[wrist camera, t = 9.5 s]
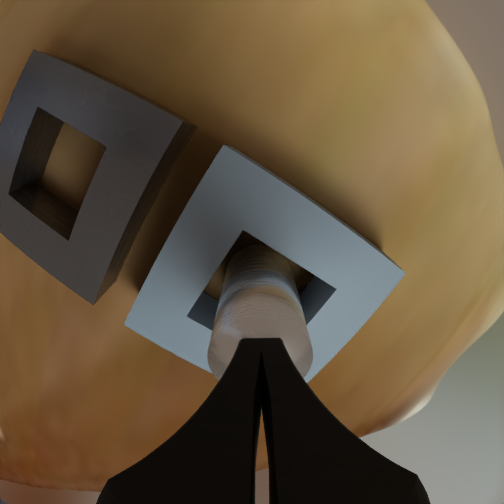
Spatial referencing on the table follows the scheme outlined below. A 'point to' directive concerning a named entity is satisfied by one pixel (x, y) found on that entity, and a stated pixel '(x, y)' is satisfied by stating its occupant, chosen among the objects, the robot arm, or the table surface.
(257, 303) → the aluminium peg
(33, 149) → the charcoal stand
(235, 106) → the table surface
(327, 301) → the block
